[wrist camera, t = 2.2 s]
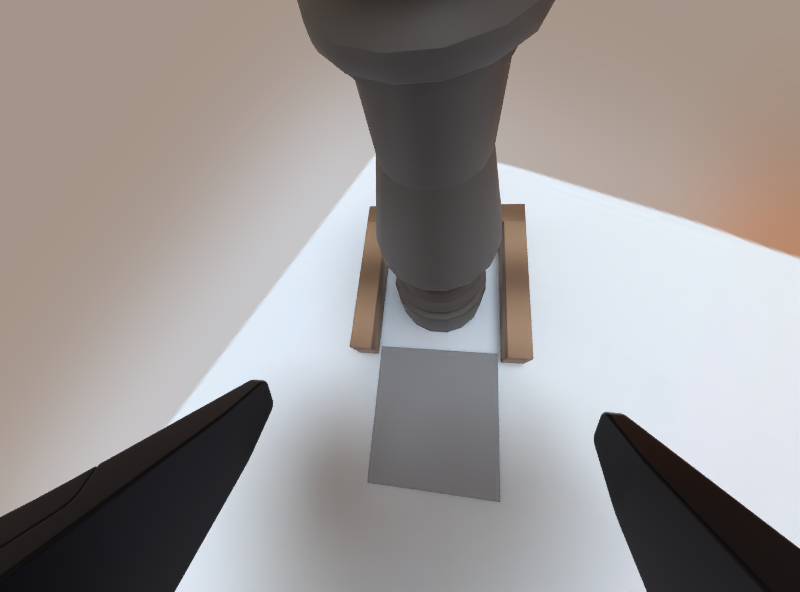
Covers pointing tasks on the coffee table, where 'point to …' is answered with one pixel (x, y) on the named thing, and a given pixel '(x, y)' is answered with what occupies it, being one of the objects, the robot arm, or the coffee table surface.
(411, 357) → the mat
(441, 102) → the candle holder
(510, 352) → the wooden u-shaped frame
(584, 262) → the coffee table surface
